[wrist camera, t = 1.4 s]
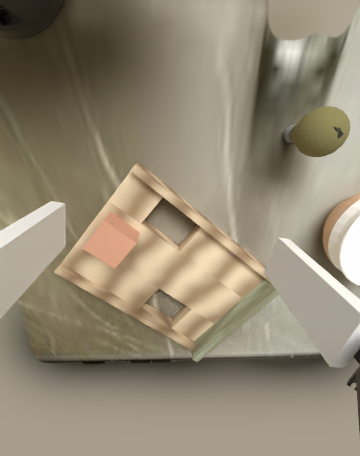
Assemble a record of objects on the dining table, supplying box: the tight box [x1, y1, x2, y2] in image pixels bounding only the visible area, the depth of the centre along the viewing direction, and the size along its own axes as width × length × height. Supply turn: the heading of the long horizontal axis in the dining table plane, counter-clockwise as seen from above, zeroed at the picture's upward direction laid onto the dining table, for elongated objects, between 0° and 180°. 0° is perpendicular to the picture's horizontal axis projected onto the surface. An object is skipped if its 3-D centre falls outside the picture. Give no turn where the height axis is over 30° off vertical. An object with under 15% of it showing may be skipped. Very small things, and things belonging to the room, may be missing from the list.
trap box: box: [54, 162, 279, 362], centre depth 38 cm, size 31×22×6 cm
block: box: [82, 212, 140, 269], centre depth 33 cm, size 6×6×4 cm
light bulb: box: [284, 107, 350, 157], centre depth 28 cm, size 6×6×10 cm
